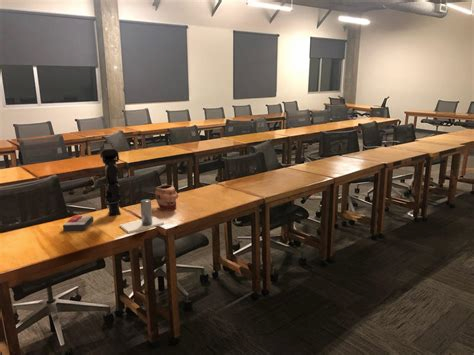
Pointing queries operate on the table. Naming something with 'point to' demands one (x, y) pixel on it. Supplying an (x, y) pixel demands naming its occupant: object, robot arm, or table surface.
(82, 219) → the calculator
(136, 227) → the tile
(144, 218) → the tin
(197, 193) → the table surface
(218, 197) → the table surface
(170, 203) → the decorative planter
